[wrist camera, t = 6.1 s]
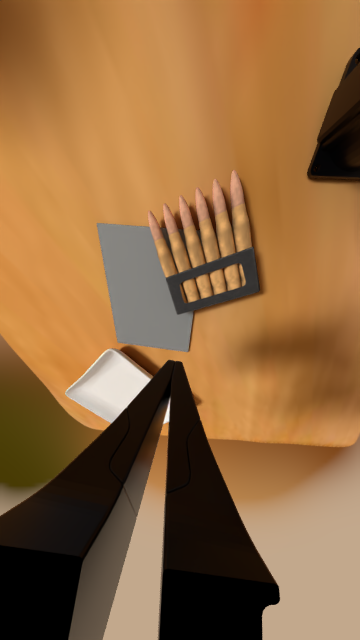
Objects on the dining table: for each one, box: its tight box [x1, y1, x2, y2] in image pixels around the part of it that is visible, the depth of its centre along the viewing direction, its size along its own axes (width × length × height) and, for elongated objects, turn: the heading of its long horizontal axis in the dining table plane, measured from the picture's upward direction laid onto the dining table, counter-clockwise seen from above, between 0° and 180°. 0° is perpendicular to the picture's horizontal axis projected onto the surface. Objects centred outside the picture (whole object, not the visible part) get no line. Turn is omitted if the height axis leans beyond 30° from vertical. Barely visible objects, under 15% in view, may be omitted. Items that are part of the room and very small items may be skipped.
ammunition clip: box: [148, 170, 260, 315], centre depth 16 cm, size 11×2×12 cm
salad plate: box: [65, 348, 170, 424], centre depth 30 cm, size 21×21×3 cm
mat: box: [97, 223, 202, 352], centre depth 20 cm, size 13×18×1 cm
